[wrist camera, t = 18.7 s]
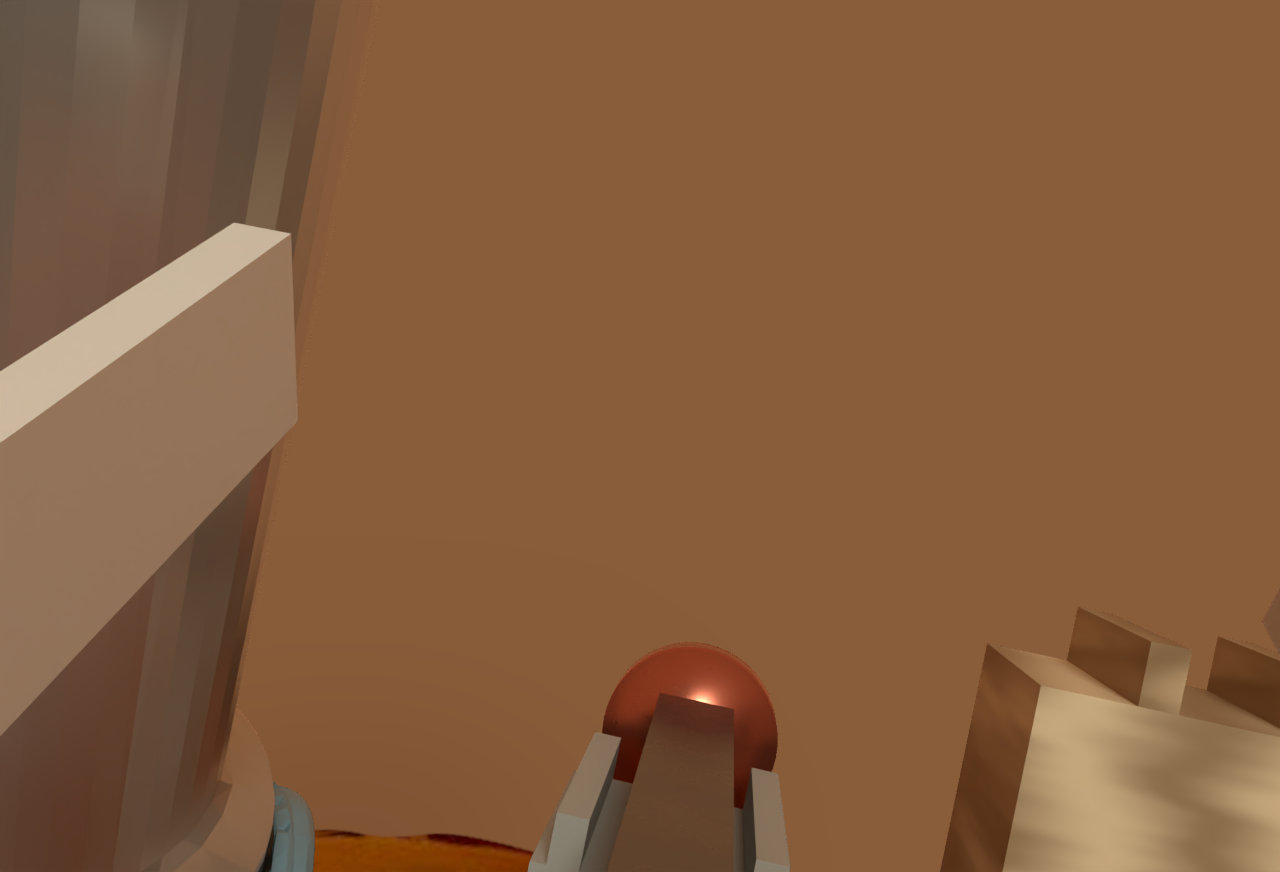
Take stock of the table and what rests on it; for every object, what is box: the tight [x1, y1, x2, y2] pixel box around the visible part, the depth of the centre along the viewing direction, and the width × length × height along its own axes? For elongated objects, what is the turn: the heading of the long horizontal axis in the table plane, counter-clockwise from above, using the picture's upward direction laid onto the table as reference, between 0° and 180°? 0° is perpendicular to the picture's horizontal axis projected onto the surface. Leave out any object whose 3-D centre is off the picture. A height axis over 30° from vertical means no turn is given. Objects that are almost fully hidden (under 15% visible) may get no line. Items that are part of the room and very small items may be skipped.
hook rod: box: [602, 642, 777, 872], centre depth 34 cm, size 7×22×7 cm, turn 174°
